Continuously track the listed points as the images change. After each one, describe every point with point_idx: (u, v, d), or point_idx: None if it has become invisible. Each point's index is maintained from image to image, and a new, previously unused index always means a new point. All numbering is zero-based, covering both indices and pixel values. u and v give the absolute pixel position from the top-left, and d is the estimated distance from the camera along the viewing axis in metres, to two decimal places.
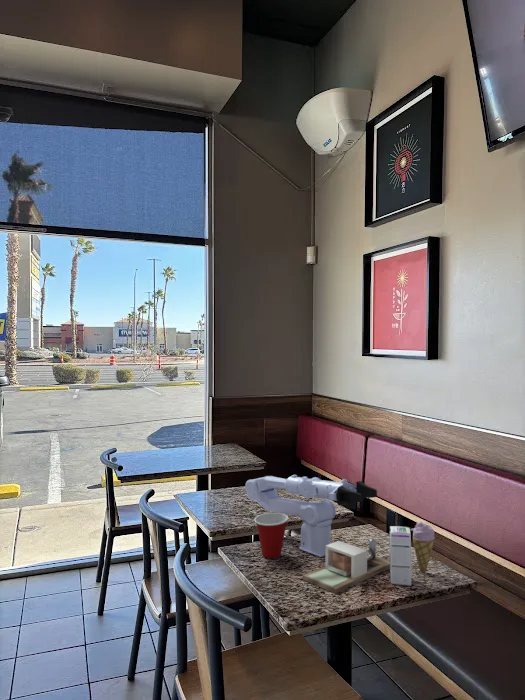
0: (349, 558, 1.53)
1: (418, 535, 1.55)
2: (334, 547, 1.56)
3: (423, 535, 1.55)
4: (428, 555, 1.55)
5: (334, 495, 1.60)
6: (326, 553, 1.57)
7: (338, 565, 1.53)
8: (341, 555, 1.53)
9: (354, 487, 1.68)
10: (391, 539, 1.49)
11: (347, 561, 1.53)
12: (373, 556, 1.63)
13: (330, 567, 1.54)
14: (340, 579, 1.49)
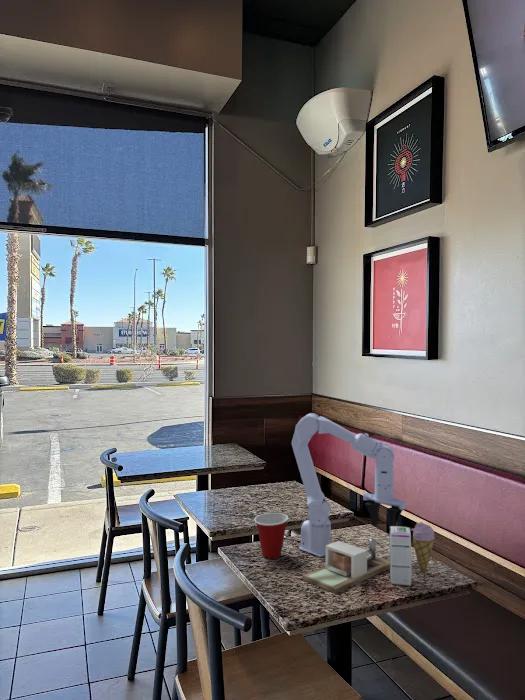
0: (349, 558, 1.53)
1: (418, 535, 1.55)
2: (334, 547, 1.56)
3: (423, 535, 1.55)
4: (428, 555, 1.55)
5: (404, 508, 1.64)
6: (326, 553, 1.57)
7: (338, 565, 1.53)
8: (341, 555, 1.53)
9: None
10: (391, 539, 1.49)
11: (347, 561, 1.53)
12: (373, 556, 1.63)
13: (330, 567, 1.54)
14: (340, 579, 1.49)
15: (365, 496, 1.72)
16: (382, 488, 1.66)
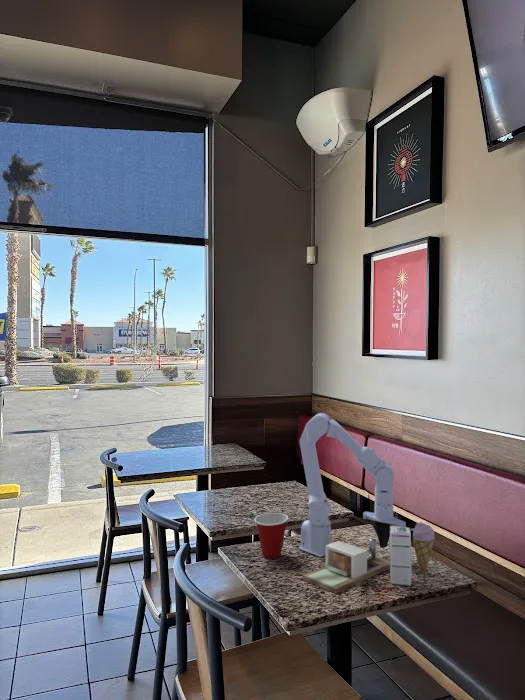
0: (349, 558, 1.53)
1: (418, 535, 1.55)
2: (334, 547, 1.56)
3: (423, 535, 1.55)
4: (428, 555, 1.55)
5: None
6: (326, 553, 1.57)
7: (338, 565, 1.53)
8: (341, 555, 1.53)
9: None
10: (391, 539, 1.49)
11: (347, 561, 1.53)
12: (373, 556, 1.63)
13: (330, 567, 1.54)
14: (340, 579, 1.49)
15: (365, 515, 1.72)
16: (382, 507, 1.66)
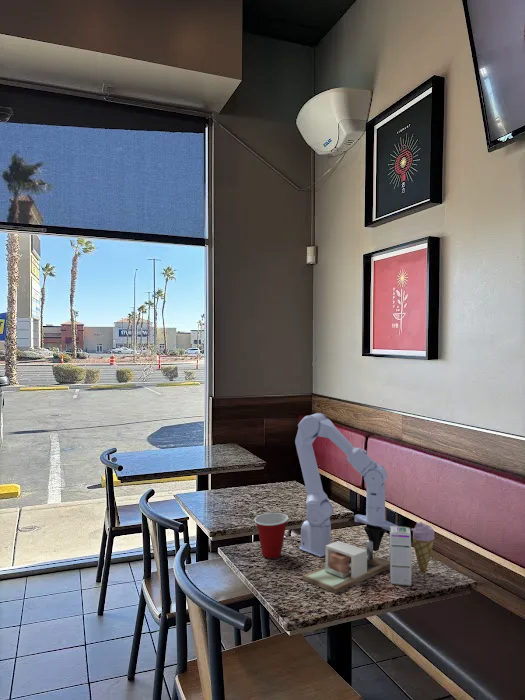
0: (346, 559, 1.52)
1: (418, 535, 1.55)
2: (334, 547, 1.56)
3: (423, 535, 1.55)
4: (428, 555, 1.55)
5: None
6: (326, 553, 1.57)
7: (335, 566, 1.52)
8: (338, 556, 1.52)
9: None
10: (391, 539, 1.49)
11: (344, 562, 1.52)
12: (370, 557, 1.62)
13: (327, 568, 1.53)
14: (340, 579, 1.49)
15: (356, 518, 1.69)
16: (373, 510, 1.63)
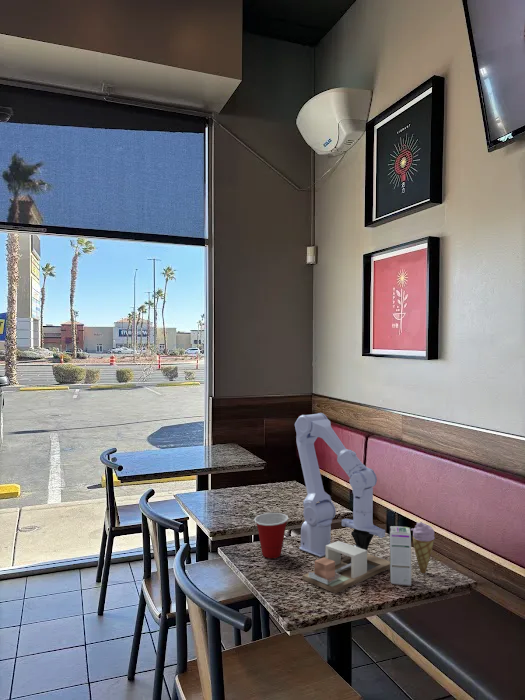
0: (331, 565, 1.48)
1: (418, 535, 1.55)
2: (334, 547, 1.56)
3: (423, 535, 1.55)
4: (428, 555, 1.55)
5: None
6: (326, 553, 1.57)
7: (320, 573, 1.47)
8: (323, 562, 1.48)
9: None
10: (391, 539, 1.49)
11: (330, 568, 1.47)
12: None
13: (312, 575, 1.48)
14: (340, 579, 1.49)
15: (343, 522, 1.65)
16: (360, 515, 1.58)
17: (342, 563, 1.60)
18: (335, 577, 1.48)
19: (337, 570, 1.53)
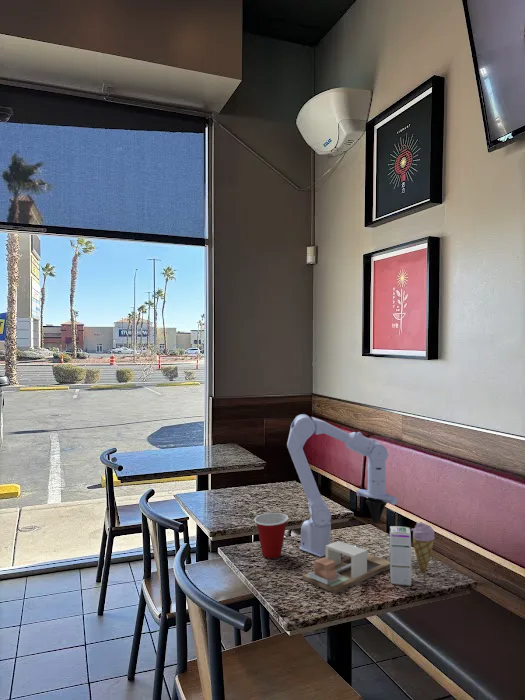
0: (331, 565, 1.48)
1: (418, 535, 1.55)
2: (334, 547, 1.56)
3: (423, 535, 1.55)
4: (428, 555, 1.55)
5: (395, 503, 1.69)
6: (326, 553, 1.57)
7: (320, 573, 1.47)
8: (323, 563, 1.48)
9: None
10: (391, 539, 1.49)
11: (330, 568, 1.47)
12: None
13: (312, 575, 1.48)
14: (340, 579, 1.49)
15: (358, 492, 1.77)
16: (374, 484, 1.71)
17: (342, 563, 1.60)
18: (335, 577, 1.48)
19: (337, 570, 1.53)
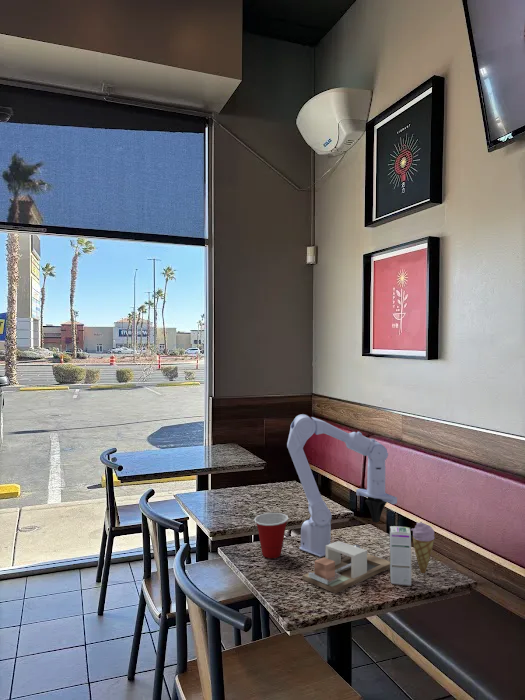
0: (331, 565, 1.48)
1: (418, 535, 1.55)
2: (334, 547, 1.56)
3: (423, 535, 1.55)
4: (428, 555, 1.55)
5: None
6: (326, 553, 1.57)
7: (320, 573, 1.47)
8: (323, 563, 1.48)
9: None
10: (391, 539, 1.49)
11: (330, 568, 1.47)
12: None
13: (312, 575, 1.48)
14: (340, 579, 1.49)
15: (358, 491, 1.78)
16: (374, 483, 1.71)
17: (342, 563, 1.60)
18: (335, 577, 1.48)
19: (337, 570, 1.53)
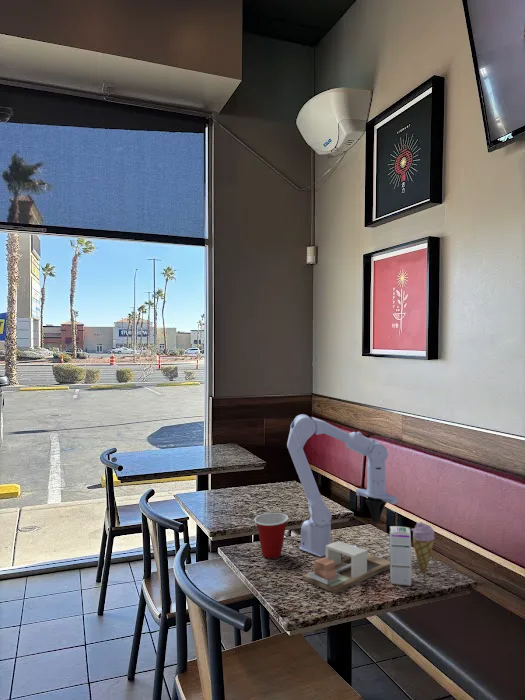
0: (331, 565, 1.48)
1: (418, 535, 1.55)
2: (334, 547, 1.56)
3: (423, 535, 1.55)
4: (428, 555, 1.55)
5: None
6: (326, 553, 1.57)
7: (320, 573, 1.47)
8: (323, 563, 1.48)
9: None
10: (391, 539, 1.49)
11: (330, 568, 1.47)
12: None
13: (312, 575, 1.48)
14: (340, 579, 1.49)
15: (358, 491, 1.78)
16: (374, 483, 1.71)
17: (342, 563, 1.60)
18: (335, 577, 1.48)
19: (337, 570, 1.53)
